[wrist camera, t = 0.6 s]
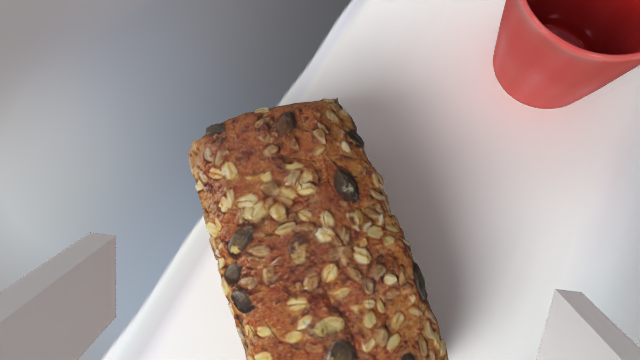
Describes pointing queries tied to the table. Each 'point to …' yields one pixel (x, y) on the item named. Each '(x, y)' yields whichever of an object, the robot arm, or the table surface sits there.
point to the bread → (309, 240)
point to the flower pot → (565, 48)
